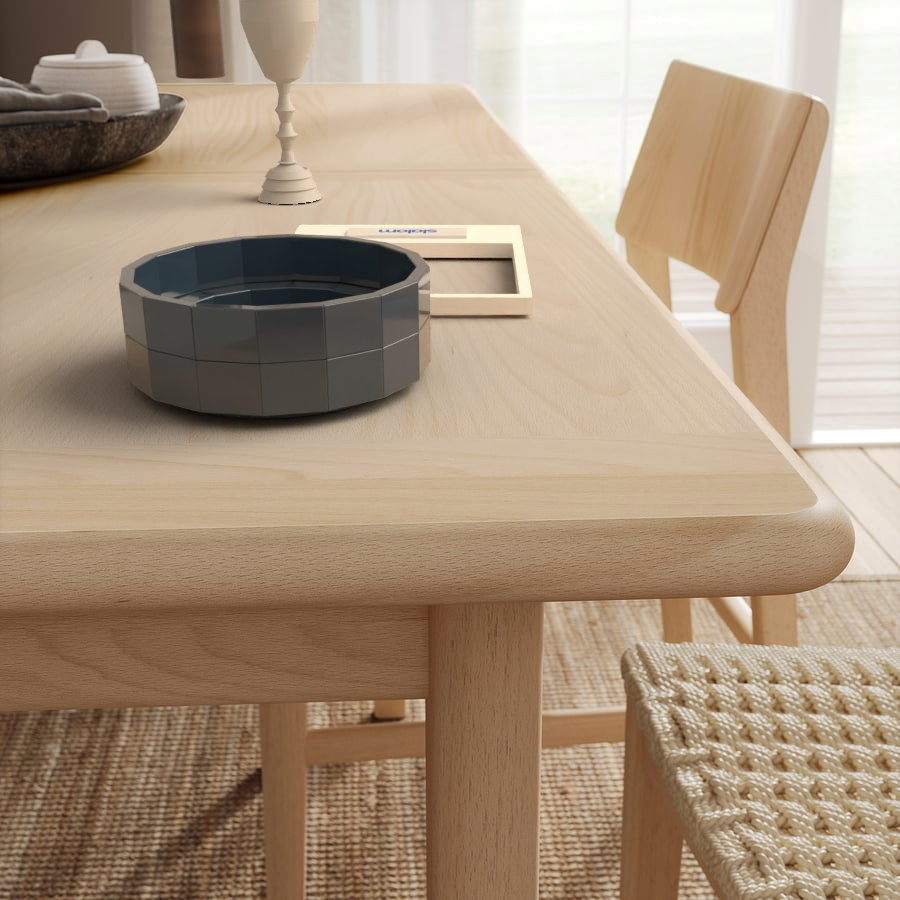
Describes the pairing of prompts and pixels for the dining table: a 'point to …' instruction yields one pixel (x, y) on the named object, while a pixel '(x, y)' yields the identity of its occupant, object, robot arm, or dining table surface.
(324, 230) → the photo frame
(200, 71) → the stirring stick
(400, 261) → the bowl
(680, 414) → the dining table surface
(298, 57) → the chalice
